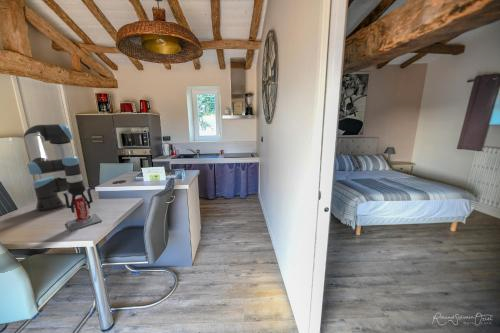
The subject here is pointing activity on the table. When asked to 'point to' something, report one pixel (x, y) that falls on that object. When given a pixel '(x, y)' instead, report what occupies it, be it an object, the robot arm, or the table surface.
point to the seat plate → (75, 227)
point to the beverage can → (81, 208)
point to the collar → (83, 221)
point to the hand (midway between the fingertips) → (82, 215)
